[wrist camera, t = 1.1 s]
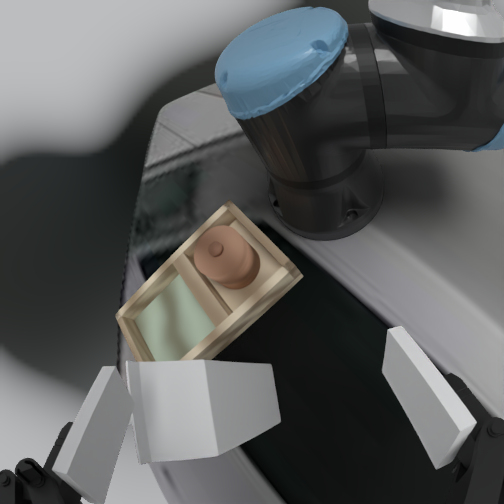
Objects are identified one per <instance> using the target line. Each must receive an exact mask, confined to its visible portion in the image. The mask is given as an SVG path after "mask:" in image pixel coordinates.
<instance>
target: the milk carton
mask: <svg viewBox="0 0 504 504" xmlns="http://www.w3.org/2000/svg"><path fill="white" fill-rule="evenodd" d="M126 374H127V385H128V392H129V394H130V395H131V397H132V399H133V401H134V403H135V406H134V409H133V412H132V415H131V418H130V421H129V424H128V425H132V427H133V433H134V440H135V446H136V451H137V457H138V462H139V464H146V463H149V462H162V461H177V460H189V459H199V458H207V457H215V456H218V455H220V454H222V453H225V452H227V451H229V450H231V449H233V448H235V447H237V446H239V445H241V444H242V443H244V442H246V441H248V440H250V439H252V438H254V437H256V436H257V435H259V434H261V433H263V432H265V431H266V430H268V429H270V428H272V427H273V426H275V425H277V424H278V423H280V422H281V418H280V412H279V406H278V400H277V394H276V388H275V382H274V376H273V370H272V365H271V364H260V363H240V362H225V361H213V360H203V359H201V360H183V361H156V362H136V361H126Z"/></svg>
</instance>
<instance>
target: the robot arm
mask: <svg viewBox="0 0 504 504" xmlns="http://www.w3.org/2000/svg"><path fill="white" fill-rule="evenodd" d="M369 10H370V15H371V20H372V23H364V24H363V23H362V24H347V23H346V21H345V20H344V19H343V18H342V17H341V16H340V15H339V14H338V13H337V12H335V11H333V10H331V9H328V8H324V7H318V8H315V9H314V8H312V7H304V8H297V9H292V10H288V11H285V12H282V13H279V14H276V15H273V16H271V17H268V18H266V19H264V20H262V21H260V22H258V23H256V24H255V25H253V26H251V27H250V28H248V29H247V30H245V31H244V32H243V33H241V34H240V35H239V36H237V37H236V38H235V39H234V40H233V41H232V42H231V43H230V44H229V45H228V46H227V47H226V48H225V50H224V51H223V52H222V54H221V56H220V57H219V59H218V62H217V64H216V68H215V80H216V83H217V86H218V88H219V90H220V92H221V94H222V96H223V98H224V100H225V102H226V104H227V107H228V110H229V112H230V114H231V115H232V116H234V117H235V118H236V120H237V122H238V123H239V125H240V126H241V128H242V129H243V131H244V133H245V134H246V136H247V137H248V139H249V141H250V142H251V144H252V146H253V147H254V149H255V150H256V152H257V154H258V155H259V157H260V159H261V160H262V162H263V164H264V165H265V167H266V169H267V181H268V194H269V199H270V202H271V205H272V207H273V209H274V211H275V212H276V214H277V215H278V217H279V218H280V220H281V221H282V222H283V223H284V224H285V225H286V226H287V227H288V228H289V229H290V230H292V231H293V232H295V233H297V234H299V235H301V236H303V237H306V238H310V239H315V240H333V239H339V238H343V237H346V236H349V235H351V234H353V233H355V232H357V231H359V230H360V229H362V228H363V227H364V226H365V225H367V224H368V223H369V222H370V221H371V220H372V218H373V217H374V216H375V215H376V213H377V211H378V209H379V207H380V205H381V202H382V198H383V190H384V181H383V173H382V169H381V166H380V164H379V161H378V160H377V158H376V156H375V155H374V153H373V151H372V150H371V149H383V148H384V149H386V148H413V149H447V150H463V151H466V152H470V151H471V152H477V151H481V150H499V149H503V148H504V19H503V18H502V16H501V15H500V14H499V13H498V11H497V10H496V8H495V6H494V5H493V0H369ZM382 373H383V374H384V376H385V378H386V379H387V381H388V383H389V384H390V386H391V388H392V390H393V391H394V393H395V395H396V397H397V398H398V400H399V402H400V404H401V405H402V407H403V409H404V411H405V412H406V414H407V416H408V418H409V420H410V421H411V423H412V425H413V427H414V429H415V431H416V432H417V434H418V436H419V438H420V440H421V442H422V444H423V445H424V447H425V449H426V451H427V453H428V455H429V457H430V459H431V461H432V463H433V464H434V466H435V468H436V469H438V468H441V467H443V466H445V465H447V464H448V463H450V462H452V461H453V459H454V458H455V456H456V455H457V456H458V457H459V459H460V460H459V461H458V463H457V464H456V465H455V467H454V468H453V470H452V473H454V471H455V470H456V471H455V475H454V478H453V481H452V485H451V488H450V491H449V494H448V497H447V499H446V502H445V504H504V420H503V419H501V418H498V417H494V418H492V417H491V416H490V415H489V414H488V412H487V411H486V410H485V408H484V407H483V406H482V405H481V403H480V402H479V401H478V399H477V398H476V397H475V396H474V394H472V392H471V391H470V389H469V388H467V386H466V384H465V383H464V382H463V381H462V379H461V378H459V377H457V376H456V375H454V374H452V373H450V374H448V375H445V376H442V375H441V373H440V372H439V371H438V370H437V368H436V367H435V366H434V365H433V363H432V362H431V361H430V360H429V358H428V357H427V356H426V355H425V353H424V352H423V351H422V350H421V348H420V347H419V346H418V345H417V344H416V342H415V341H414V340H413V339H412V338H411V336H410V335H409V334H408V333H407V332H406V330H405V329H404V328H403V327H402V326H398V327H394V328H391V329H388V331H387V340H386V348H385V355H384V362H383V369H382ZM134 406H135V403H134V401H133V399H132V397H131V395H130V394H129V392H128V390H127V388H126V386H125V384H124V382H123V380H122V378H121V376H120V374H119V372H118V370H117V368H116V366H103V367H102V369H101V371H100V373H99V374H98V376H97V378H96V380H95V382H94V384H93V385H92V387H91V389H90V391H89V393H88V395H87V397H86V399H85V401H84V403H83V405H82V407H81V409H80V411H79V413H78V415H77V417H76V419H75V421H74V423H73V422H68V423H67V424H66V425H65V426H64V427H63V428H62V430H61V432H60V434H59V436H58V439H57V440H56V442H55V446H53V448H52V450H51V452H50V454H49V457H48V459H47V461H46V463H45V465H44V467H43V468H42V467H41V466H40V465H39V464H38V463H37V462H36V461H35V460H33V459H31V458H25V459H23V460H21V461H20V462H19V463H18V464H17V465H16V468H15V474H16V475H17V476H16V475H15V474H14V473H13V472H12V471H10V470H6V469H5V470H2V471H1V472H0V504H82V502H81V501H80V500H81V497H83V498H84V499H85V500H87V501H88V502H90V503H94V504H104V502H105V499H106V495H107V491H108V488H109V484H110V481H111V478H112V474H113V471H114V468H115V464H116V461H117V457H118V455H119V451H120V448H121V445H122V442H123V439H124V436H125V433H126V430H127V427H128V424H129V421H130V418H131V415H132V412H133V409H134Z"/></svg>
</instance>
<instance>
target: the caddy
mask: <svg viewBox="0 0 504 504" xmlns="http://www.w3.org/2000/svg"><path fill="white" fill-rule="evenodd" d="M302 277H304V276H303V275H302V274H301V272H300V271H299V270H298V268H297V267H296V266H295V265H294V264H293V263H292V262H291V261H290V260H289V259H288V258H287V257H286V256H285V255H284V254H283V253H282V252H281V251H280V250H279V248H278V247H277V246H276V245H275V244H274V243H273V242H272V241H271V240H270V239H269V238H268V237H267V236H266V235H265V234H264V233H263V232H262V231H261V230H260V229H259V228H258V227H257V226H256V225H255V224H254V223H253V222H252V221H251V220H250V219H249V218H248V217H246V216H245V215H244V214H243V213H242V212H241V211H240V210H239V209H238V208H237V207H236V206H235V205H234V204H233V203H232V202H231V201H230V200H228V201H227V202H226V203H225V204H224V205H223V206H222V207H221V208H220V209H218V210H217V211H216V212H215V213H214V214H213V215H212V216H211V217H210V218H209V219H208V220H207V221H206V222H205V223H204V224H203V225H202V226H201V227H200V228H199V229H198V230H197V231H196V232H195V233H194V234H193V235H192V236H191V237H190V238H189V239H188V240H187V241H186V242H185V243H184V244H183V245H182V246H181V247H180V248H179V249H178V250H177V251H176V252H175V253H174V254H173V255H172V256H171V257H170V258H169V259H168V260H167V261H166V262H165V263H164V264H163V265H162V266H161V267H160V268H159V269H158V270H157V271H156V272H155V273H154V274H153V275H152V276H151V277H150V278H149V279H148V280H147V281H146V282H145V283H144V284H143V285H142V287H141V288H140V289H139V290H138V291H137V292H136V293H135V294H134V295H133V296H132V297H131V298H130V299H129V300H128V301H127V303H126V304H125V305H124V306H123V307H122V308H121V309H120V310H119V311H118V312H117V313H116V315H115V316H116V318H117V321H118V323H119V325H120V328H121V330H122V332H123V334H124V336H125V339H126V341H127V343H128V345H129V347H130V349H131V351H132V353H133V355H134V357H135V359H136V361H137V362H156V361H183V360H201V359H203V360H212V359H213V358H214V357H215V356H216V355H217V354H219V353H220V352H221V351H222V350H223V349H224V348H226V347H227V346H228V345H229V344H230V343H231V342H232V341H234V340H235V339H236V338H237V337H238V336H239V335H240V334H242V333H243V332H244V331H245V330H246V329H247V328H248V327H249V326H251V325H252V324H253V323H254V322H255V321H256V320H257V319H258V318H259V317H261V316H262V315H263V314H264V313H265V312H266V311H267V310H268V309H269V308H270V307H271V306H273V305H274V304H275V303H276V302H277V301H278V300H279V299H280V298H281V297H282V296H283V295H284V294H286V293H287V292H288V291H289V290H290V289H291V288H292V287H293V286H294V285H295V284H296V283H297V282H298V281H299V280H300V279H301V278H302Z"/></svg>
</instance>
